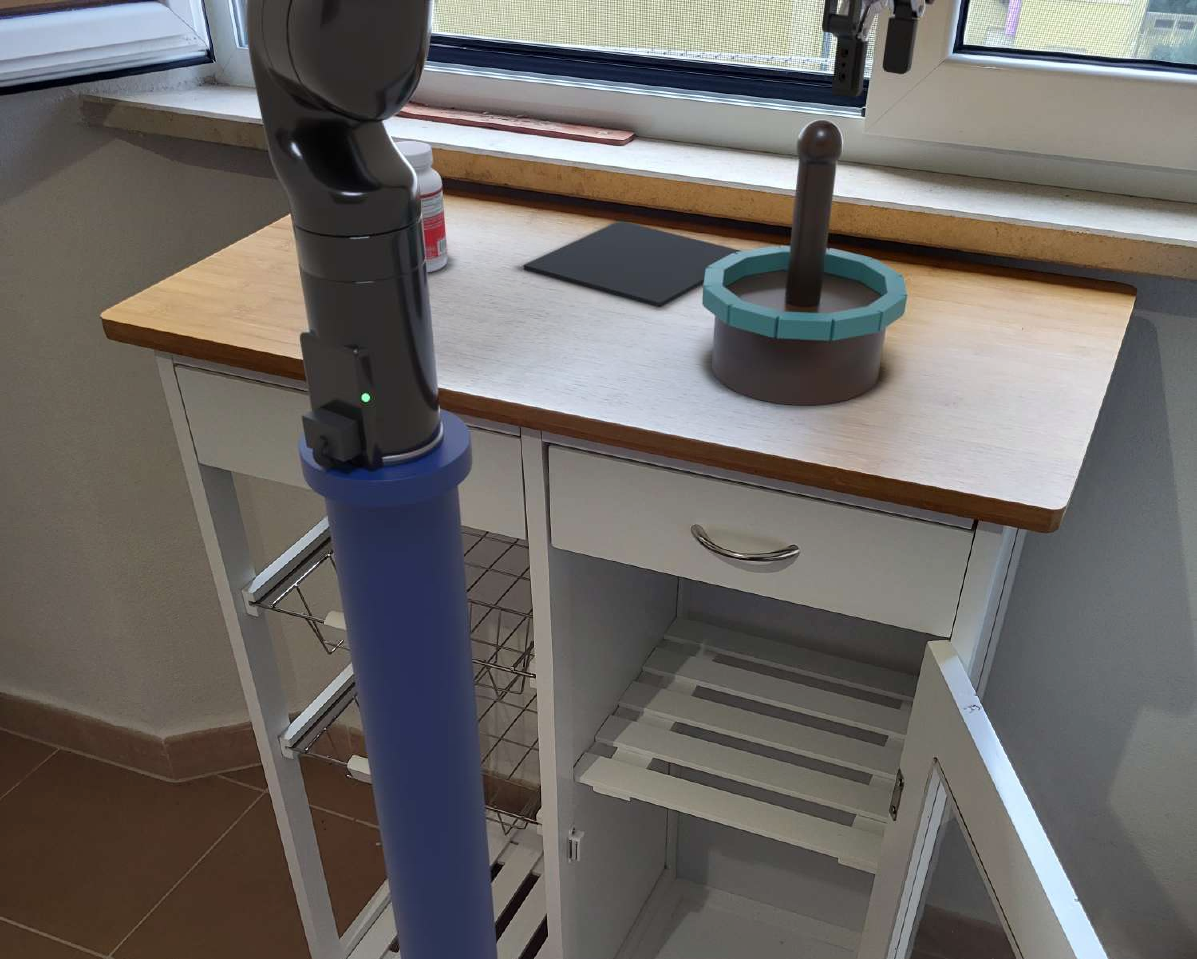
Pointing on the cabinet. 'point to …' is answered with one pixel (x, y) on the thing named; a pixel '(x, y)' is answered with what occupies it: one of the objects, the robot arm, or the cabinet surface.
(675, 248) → the mat
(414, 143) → the pill bottle
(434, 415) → the robot arm
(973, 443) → the cabinet surface
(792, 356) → the peg stand
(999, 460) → the cabinet surface
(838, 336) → the hoop
